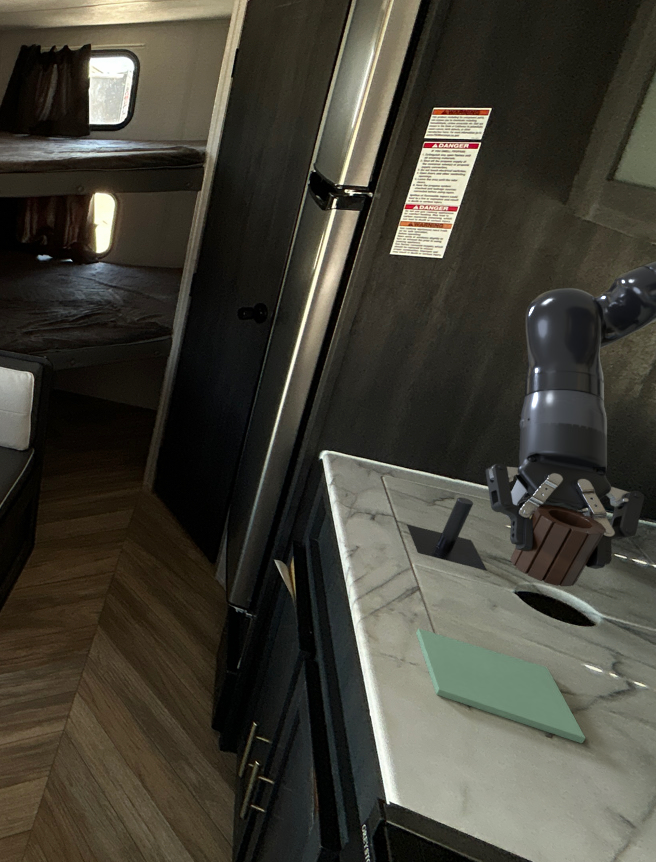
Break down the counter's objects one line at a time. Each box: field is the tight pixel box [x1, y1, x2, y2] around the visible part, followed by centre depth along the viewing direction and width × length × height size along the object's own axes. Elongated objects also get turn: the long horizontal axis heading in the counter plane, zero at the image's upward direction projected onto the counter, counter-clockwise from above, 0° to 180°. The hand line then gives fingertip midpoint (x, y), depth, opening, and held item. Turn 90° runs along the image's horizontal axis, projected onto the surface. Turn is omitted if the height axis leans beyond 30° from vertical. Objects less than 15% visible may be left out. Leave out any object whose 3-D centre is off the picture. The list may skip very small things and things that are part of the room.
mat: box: [415, 628, 586, 744], centre depth 85 cm, size 14×12×1 cm
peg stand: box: [406, 496, 488, 571], centre depth 108 cm, size 9×9×11 cm
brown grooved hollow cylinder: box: [509, 505, 606, 587], centre depth 78 cm, size 6×6×8 cm
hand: (559, 557), depth 77 cm, fingers closed on brown grooved hollow cylinder, 5 cm apart
